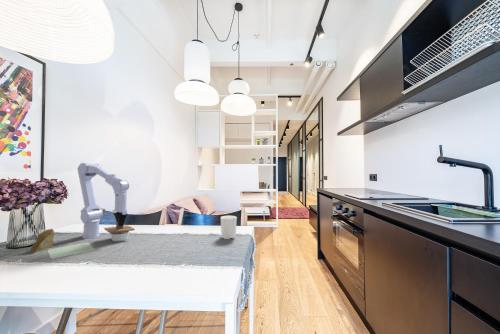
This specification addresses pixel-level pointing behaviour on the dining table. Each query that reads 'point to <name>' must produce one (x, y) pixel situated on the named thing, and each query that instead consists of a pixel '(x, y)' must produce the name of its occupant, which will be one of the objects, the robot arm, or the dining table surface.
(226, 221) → the candle holder
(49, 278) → the dining table surface
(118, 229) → the lid
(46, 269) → the dining table surface
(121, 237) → the ramekin
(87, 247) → the mat
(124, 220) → the robot arm
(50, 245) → the rock
